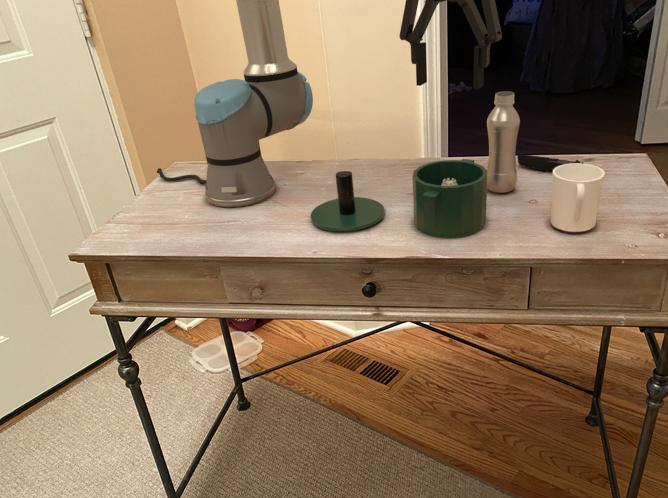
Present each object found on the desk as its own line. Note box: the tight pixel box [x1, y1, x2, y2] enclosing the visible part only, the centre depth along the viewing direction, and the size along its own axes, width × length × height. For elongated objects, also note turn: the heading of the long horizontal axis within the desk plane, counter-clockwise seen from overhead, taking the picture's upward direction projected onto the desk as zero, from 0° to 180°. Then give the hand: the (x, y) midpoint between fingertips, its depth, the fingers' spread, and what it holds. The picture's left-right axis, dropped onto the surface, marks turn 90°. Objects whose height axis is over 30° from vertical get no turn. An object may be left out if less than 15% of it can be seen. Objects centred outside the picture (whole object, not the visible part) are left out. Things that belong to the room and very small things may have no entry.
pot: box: [412, 158, 488, 239], centre depth 115 cm, size 14×19×10 cm
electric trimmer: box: [516, 153, 585, 172], centre depth 136 cm, size 4×16×3 cm, turn 58°
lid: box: [310, 170, 386, 232], centre depth 120 cm, size 15×15×9 cm
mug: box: [549, 163, 606, 235], centre depth 110 cm, size 11×9×10 cm
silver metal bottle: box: [486, 91, 521, 194], centre depth 124 cm, size 6×7×20 cm
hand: (449, 85), depth 104 cm, fingers open, 10 cm apart
